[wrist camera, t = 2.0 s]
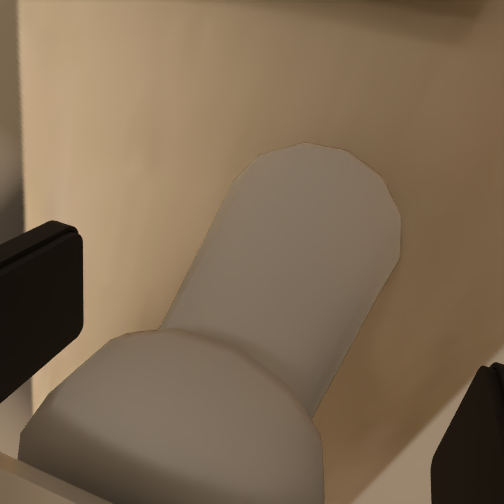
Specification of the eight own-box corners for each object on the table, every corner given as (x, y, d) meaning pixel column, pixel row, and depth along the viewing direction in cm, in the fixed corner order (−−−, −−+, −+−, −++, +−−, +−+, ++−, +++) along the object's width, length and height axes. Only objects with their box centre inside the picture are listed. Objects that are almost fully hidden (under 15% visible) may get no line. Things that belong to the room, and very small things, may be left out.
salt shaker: (271, 288, 19) (53, 664, 8) (225, 154, 17) (-151, 390, 6) (420, 267, 16) (420, 771, 5) (385, 108, 14) (269, 358, 3)
